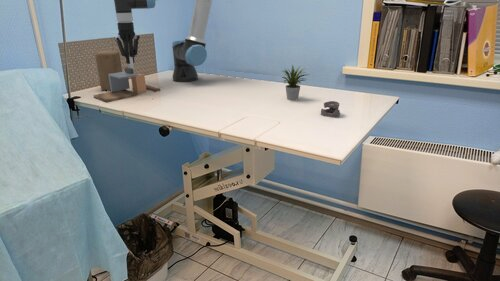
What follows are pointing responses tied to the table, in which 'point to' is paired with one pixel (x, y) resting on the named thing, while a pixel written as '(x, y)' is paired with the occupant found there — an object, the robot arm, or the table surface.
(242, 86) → the table surface
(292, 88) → the house plant
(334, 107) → the dental mold
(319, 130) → the table surface
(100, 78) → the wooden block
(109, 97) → the puzzle board
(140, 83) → the terracotta block
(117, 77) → the sliding cover
